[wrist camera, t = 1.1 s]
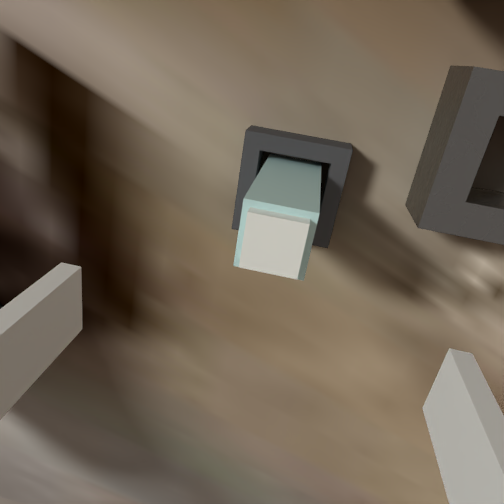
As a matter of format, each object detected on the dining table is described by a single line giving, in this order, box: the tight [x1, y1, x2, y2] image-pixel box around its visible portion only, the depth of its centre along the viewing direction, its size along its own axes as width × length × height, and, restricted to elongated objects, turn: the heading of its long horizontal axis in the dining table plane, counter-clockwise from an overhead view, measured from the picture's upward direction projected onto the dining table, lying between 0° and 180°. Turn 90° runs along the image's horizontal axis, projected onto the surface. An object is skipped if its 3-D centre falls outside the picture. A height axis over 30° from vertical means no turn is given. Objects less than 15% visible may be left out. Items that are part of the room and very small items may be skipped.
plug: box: [233, 153, 322, 281], centre depth 28 cm, size 4×4×13 cm
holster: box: [232, 125, 353, 248], centre depth 32 cm, size 8×8×2 cm
